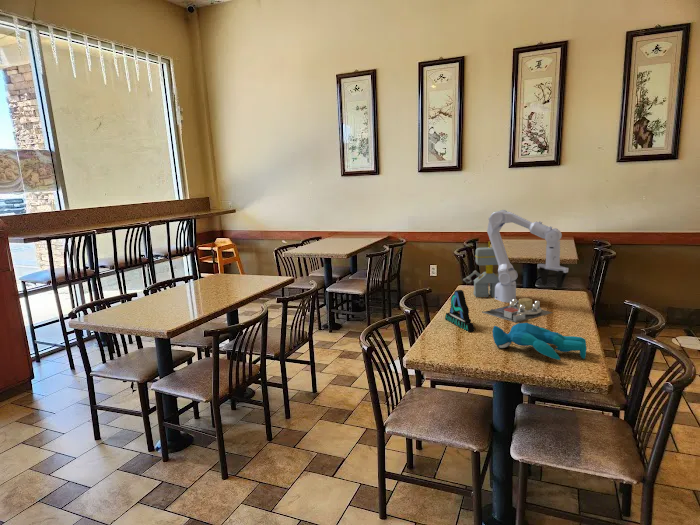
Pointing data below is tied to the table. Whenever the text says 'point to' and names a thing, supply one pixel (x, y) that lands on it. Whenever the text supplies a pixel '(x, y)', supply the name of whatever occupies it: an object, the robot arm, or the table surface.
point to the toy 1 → (485, 273)
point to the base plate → (516, 318)
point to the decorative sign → (462, 317)
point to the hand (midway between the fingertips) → (551, 285)
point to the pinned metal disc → (529, 312)
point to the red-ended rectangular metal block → (510, 313)
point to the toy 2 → (539, 340)
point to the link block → (526, 303)
